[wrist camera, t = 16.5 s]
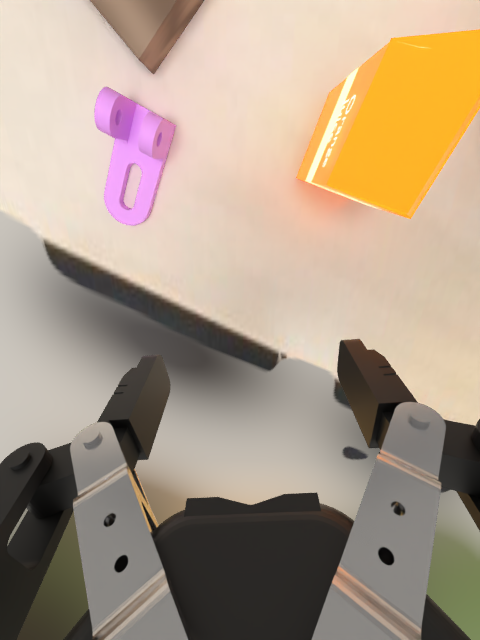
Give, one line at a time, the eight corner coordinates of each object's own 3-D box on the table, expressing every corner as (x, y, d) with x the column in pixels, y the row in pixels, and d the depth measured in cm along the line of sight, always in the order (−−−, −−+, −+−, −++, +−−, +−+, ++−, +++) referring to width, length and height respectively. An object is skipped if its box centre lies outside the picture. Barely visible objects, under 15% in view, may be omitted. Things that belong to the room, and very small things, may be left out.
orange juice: (390, 119, 30) (588, 58, 13) (350, 200, 34) (457, 236, 17) (328, 90, 29) (453, -19, 12) (294, 178, 33) (349, 193, 16)
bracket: (128, 98, 30) (99, 82, 24) (176, 125, 31) (159, 116, 25) (105, 211, 36) (76, 221, 30) (145, 230, 37) (126, 243, 31)
